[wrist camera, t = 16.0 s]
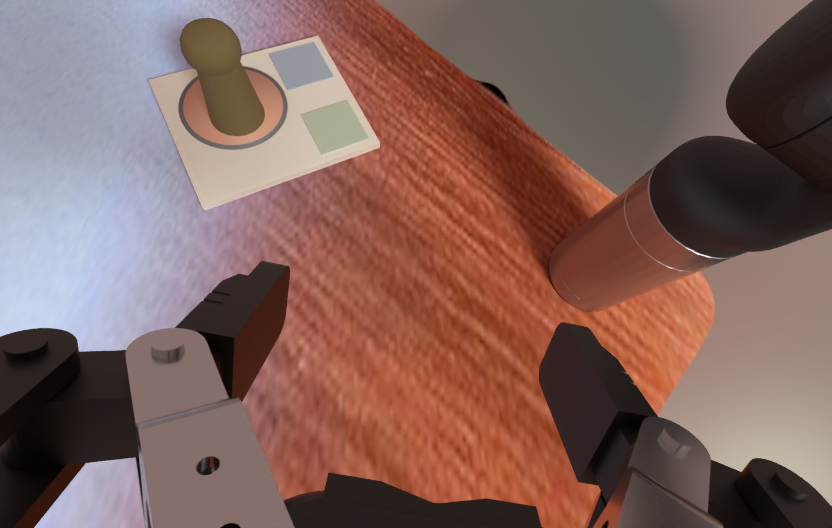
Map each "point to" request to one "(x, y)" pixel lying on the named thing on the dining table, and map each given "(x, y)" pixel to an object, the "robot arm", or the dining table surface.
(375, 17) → the dining table surface
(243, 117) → the olive pawn
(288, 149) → the picture board
